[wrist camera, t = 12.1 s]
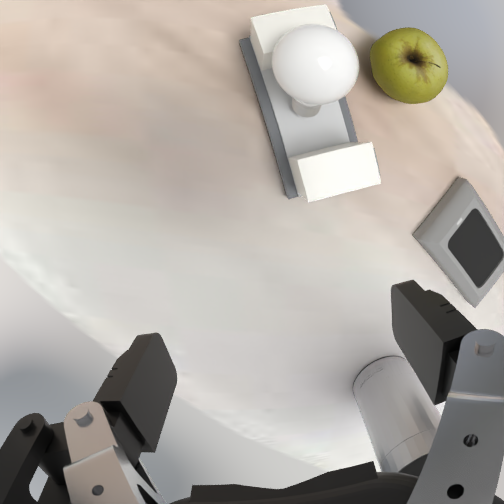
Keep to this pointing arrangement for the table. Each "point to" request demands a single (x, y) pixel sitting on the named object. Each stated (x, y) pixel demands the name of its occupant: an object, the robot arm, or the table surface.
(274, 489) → the robot arm
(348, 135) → the rail board
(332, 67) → the lightbulb
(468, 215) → the grey flat block
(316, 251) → the table surface
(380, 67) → the apple
